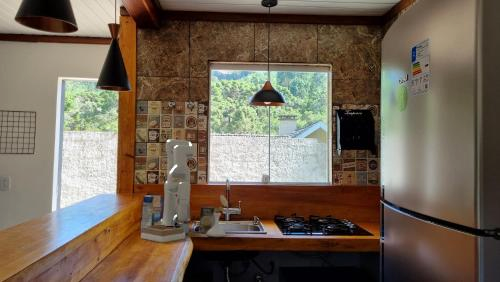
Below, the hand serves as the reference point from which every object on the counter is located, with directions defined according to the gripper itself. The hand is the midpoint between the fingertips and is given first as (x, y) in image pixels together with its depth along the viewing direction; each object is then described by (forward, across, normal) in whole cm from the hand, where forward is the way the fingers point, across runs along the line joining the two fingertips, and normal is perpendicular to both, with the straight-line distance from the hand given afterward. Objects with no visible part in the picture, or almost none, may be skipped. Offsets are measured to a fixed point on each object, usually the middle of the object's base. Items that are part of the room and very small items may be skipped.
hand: (180, 231), depth 211 cm
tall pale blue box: (+1, 0, 0) cm, 1 cm away
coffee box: (+2, -16, +7) cm, 18 cm away
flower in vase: (+1, -10, +20) cm, 22 cm away
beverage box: (+1, +12, -14) cm, 18 cm away
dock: (+1, +18, +4) cm, 18 cm away
